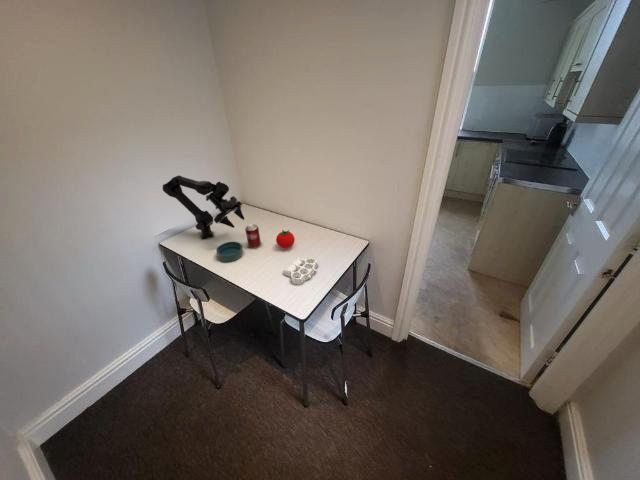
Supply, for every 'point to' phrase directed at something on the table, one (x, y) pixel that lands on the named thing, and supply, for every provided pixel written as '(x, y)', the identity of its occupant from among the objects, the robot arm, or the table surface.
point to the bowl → (229, 251)
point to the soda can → (253, 236)
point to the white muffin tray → (301, 269)
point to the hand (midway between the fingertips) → (239, 223)
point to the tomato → (285, 239)
